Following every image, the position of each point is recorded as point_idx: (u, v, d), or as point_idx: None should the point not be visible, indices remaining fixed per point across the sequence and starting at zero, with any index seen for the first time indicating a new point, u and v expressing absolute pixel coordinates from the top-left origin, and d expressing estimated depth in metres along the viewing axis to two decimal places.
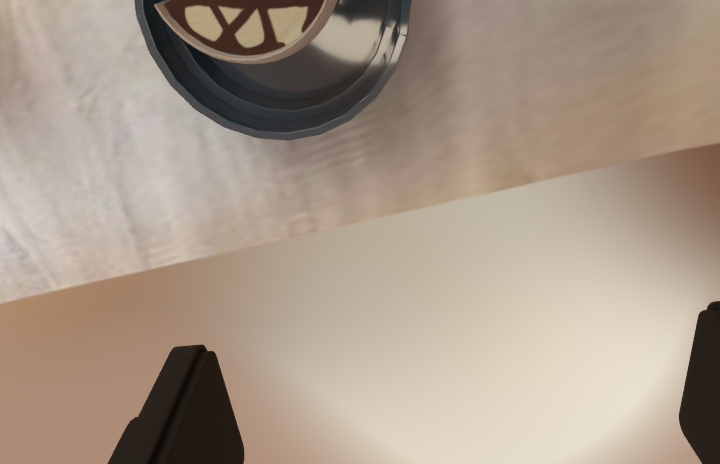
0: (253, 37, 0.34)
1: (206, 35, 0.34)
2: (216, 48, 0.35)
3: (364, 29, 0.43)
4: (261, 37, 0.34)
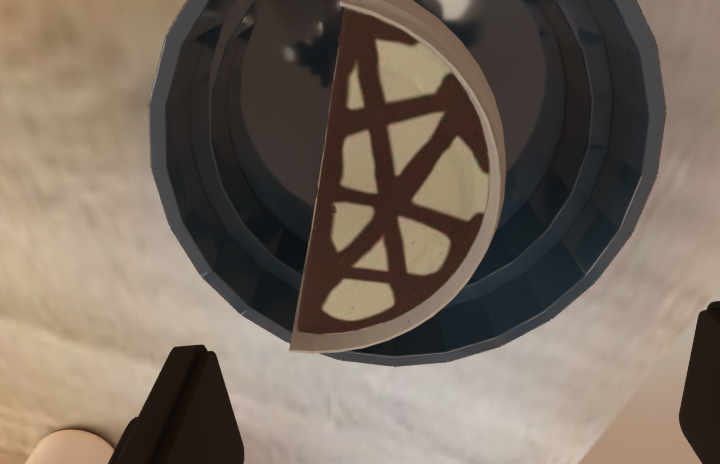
0: (433, 250, 0.18)
1: (378, 309, 0.19)
2: (405, 309, 0.19)
3: (520, 37, 0.24)
4: (442, 239, 0.18)
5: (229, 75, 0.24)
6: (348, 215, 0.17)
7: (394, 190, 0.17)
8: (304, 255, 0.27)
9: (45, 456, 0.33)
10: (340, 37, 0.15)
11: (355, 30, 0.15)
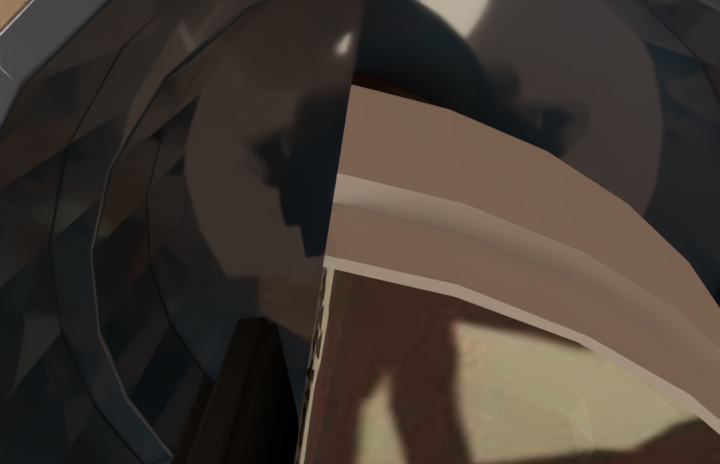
0: None
1: None
2: None
3: (665, 133, 0.13)
4: None
5: (147, 194, 0.14)
6: None
7: None
8: None
9: None
10: (332, 307, 0.04)
11: (384, 293, 0.04)
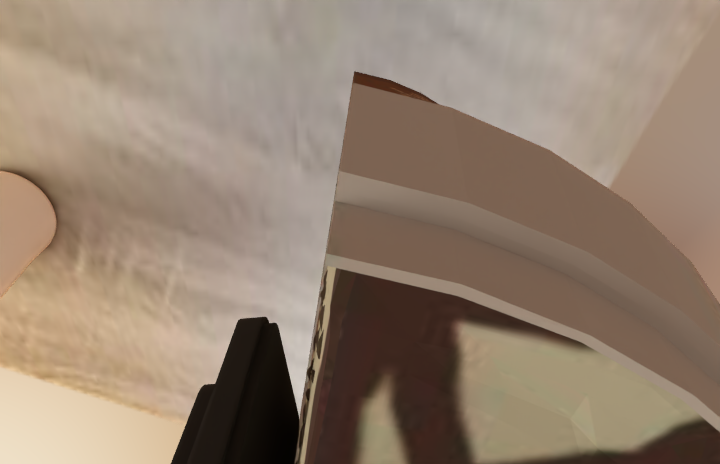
0: None
1: None
2: None
3: None
4: None
5: None
6: None
7: None
8: None
9: None
10: (334, 307, 0.04)
11: (386, 292, 0.04)
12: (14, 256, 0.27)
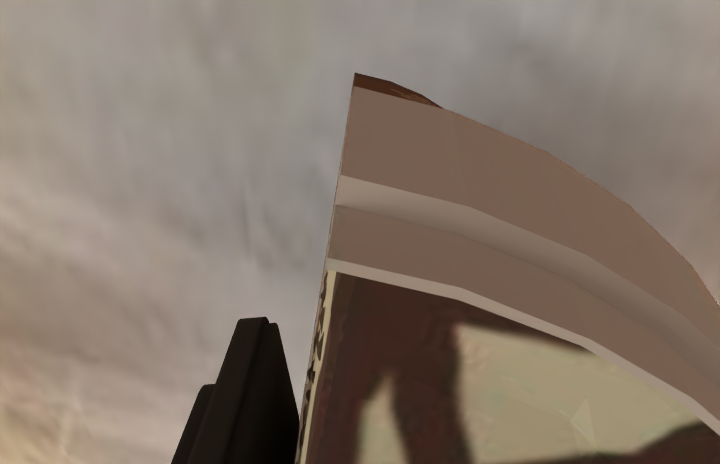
0: None
1: None
2: None
3: None
4: None
5: None
6: None
7: None
8: None
9: None
10: (334, 309, 0.04)
11: (386, 295, 0.04)
12: None
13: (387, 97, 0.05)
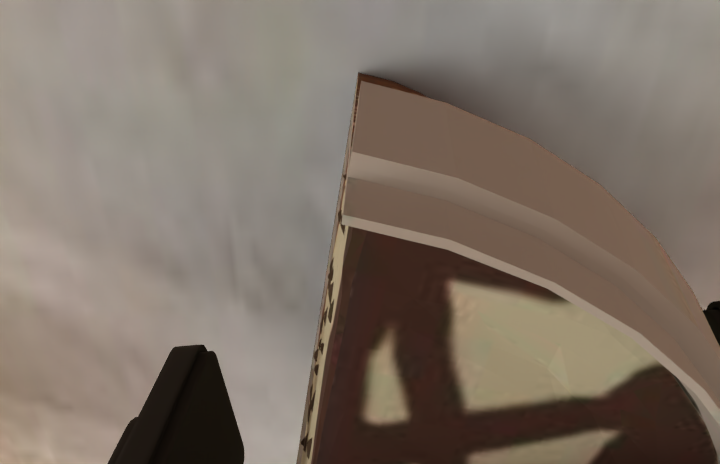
0: None
1: None
2: None
3: None
4: None
5: None
6: None
7: None
8: None
9: None
10: (346, 269, 0.05)
11: (389, 255, 0.05)
12: None
13: (390, 90, 0.06)
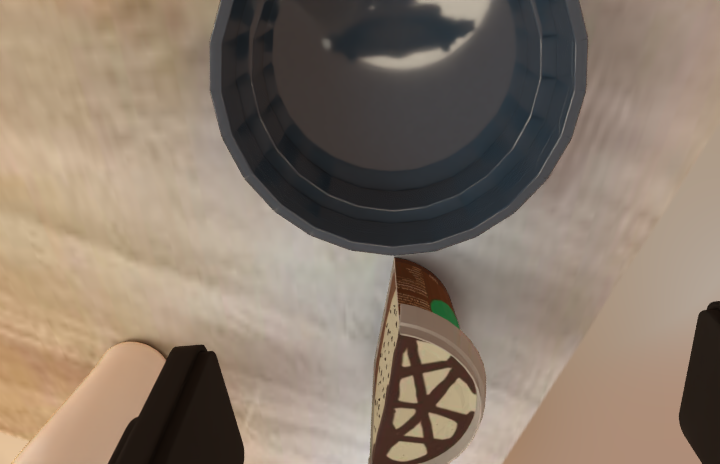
0: (448, 427, 0.33)
1: (417, 456, 0.34)
2: (433, 456, 0.34)
3: None
4: (452, 423, 0.33)
5: (264, 32, 0.32)
6: (401, 413, 0.32)
7: (426, 401, 0.32)
8: (323, 178, 0.34)
9: (112, 358, 0.40)
10: (399, 338, 0.30)
11: (406, 336, 0.30)
12: None
13: (406, 305, 0.31)
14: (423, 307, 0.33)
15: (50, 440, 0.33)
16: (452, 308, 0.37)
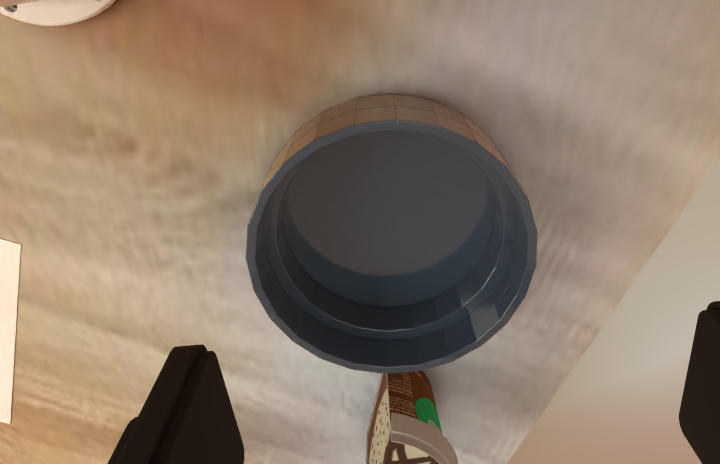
0: None
1: None
2: None
3: (464, 172, 0.39)
4: None
5: (285, 192, 0.39)
6: None
7: None
8: (329, 301, 0.42)
9: None
10: (390, 440, 0.38)
11: None
12: None
13: (396, 414, 0.39)
14: (409, 410, 0.41)
15: None
16: (432, 399, 0.46)
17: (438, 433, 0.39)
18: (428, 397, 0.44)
